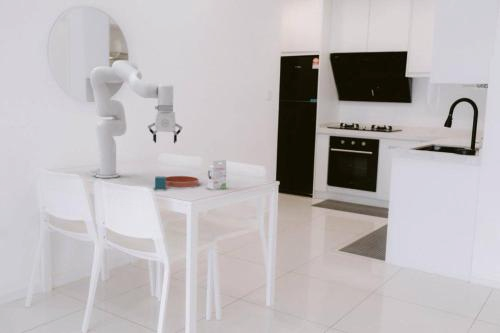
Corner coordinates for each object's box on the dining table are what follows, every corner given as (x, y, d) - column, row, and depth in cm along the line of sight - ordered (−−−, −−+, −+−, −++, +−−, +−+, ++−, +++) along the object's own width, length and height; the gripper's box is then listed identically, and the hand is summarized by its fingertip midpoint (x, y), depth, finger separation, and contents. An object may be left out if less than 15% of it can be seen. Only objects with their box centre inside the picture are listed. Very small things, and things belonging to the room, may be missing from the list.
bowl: (161, 188, 235) (161, 182, 234) (162, 181, 254) (162, 175, 253) (199, 188, 238) (200, 182, 238) (197, 181, 257) (198, 176, 256)
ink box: (220, 186, 244) (221, 158, 241) (226, 188, 240) (227, 159, 238) (206, 188, 238) (207, 159, 236) (212, 190, 234) (213, 160, 232)
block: (155, 190, 230) (155, 178, 229) (155, 188, 234) (155, 176, 234) (165, 190, 230) (165, 178, 229) (165, 188, 235) (165, 176, 234)
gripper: (147, 108, 232) (147, 143, 234) (182, 109, 234) (182, 144, 237) (148, 108, 239) (148, 141, 241) (182, 109, 242) (182, 142, 244)
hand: (165, 142), depth 239 cm, fingers open, 9 cm apart
